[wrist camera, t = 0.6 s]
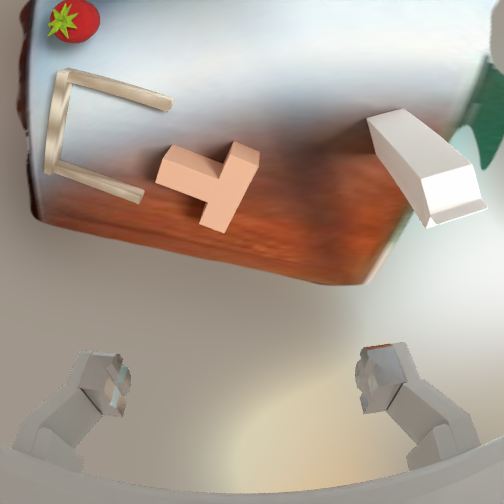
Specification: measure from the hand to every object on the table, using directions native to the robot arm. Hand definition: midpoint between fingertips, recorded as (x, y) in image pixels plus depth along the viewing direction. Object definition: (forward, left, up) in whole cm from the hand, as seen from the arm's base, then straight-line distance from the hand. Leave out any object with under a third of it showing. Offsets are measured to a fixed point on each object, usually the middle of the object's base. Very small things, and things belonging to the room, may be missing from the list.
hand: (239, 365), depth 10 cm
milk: (-5, +18, -38) cm, 42 cm away
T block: (+13, -3, -38) cm, 40 cm away
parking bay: (+13, -20, -38) cm, 44 cm away
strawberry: (-4, -27, -38) cm, 46 cm away
